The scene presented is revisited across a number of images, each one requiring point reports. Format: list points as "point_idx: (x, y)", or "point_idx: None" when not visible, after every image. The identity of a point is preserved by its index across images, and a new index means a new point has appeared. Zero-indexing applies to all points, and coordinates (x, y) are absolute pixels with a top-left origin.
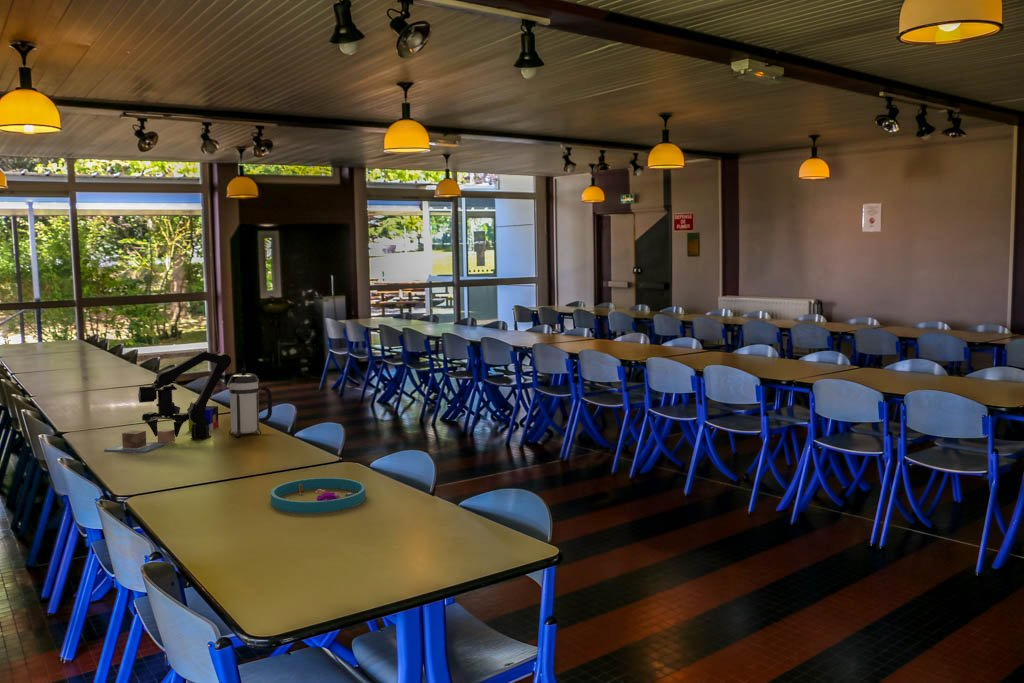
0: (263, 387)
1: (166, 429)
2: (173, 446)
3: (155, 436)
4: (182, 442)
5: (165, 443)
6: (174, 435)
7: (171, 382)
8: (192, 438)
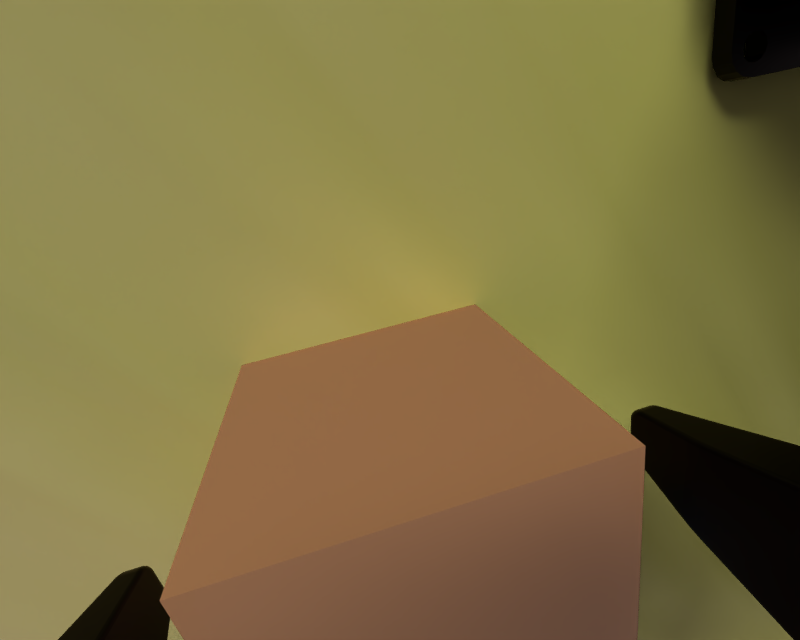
0: None
1: (321, 572)
2: (669, 563)
3: (150, 605)
4: (671, 353)
5: None
6: (530, 362)
7: None
8: (771, 71)
